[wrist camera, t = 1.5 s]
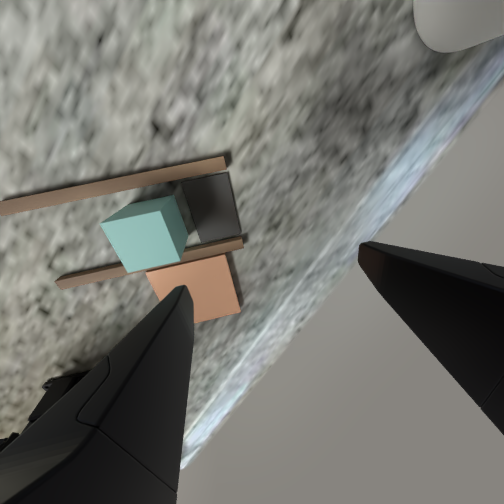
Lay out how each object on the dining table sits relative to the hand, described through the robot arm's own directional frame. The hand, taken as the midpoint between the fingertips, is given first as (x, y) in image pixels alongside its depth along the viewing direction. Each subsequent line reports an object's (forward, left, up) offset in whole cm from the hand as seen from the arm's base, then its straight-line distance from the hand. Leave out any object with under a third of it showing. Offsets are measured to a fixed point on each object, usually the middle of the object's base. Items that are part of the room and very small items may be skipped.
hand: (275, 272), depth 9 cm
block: (0, +8, -12) cm, 15 cm away
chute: (0, +10, -12) cm, 16 cm away
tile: (-9, +7, -12) cm, 16 cm away
